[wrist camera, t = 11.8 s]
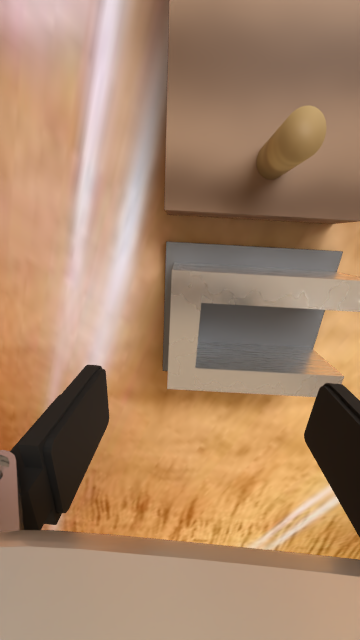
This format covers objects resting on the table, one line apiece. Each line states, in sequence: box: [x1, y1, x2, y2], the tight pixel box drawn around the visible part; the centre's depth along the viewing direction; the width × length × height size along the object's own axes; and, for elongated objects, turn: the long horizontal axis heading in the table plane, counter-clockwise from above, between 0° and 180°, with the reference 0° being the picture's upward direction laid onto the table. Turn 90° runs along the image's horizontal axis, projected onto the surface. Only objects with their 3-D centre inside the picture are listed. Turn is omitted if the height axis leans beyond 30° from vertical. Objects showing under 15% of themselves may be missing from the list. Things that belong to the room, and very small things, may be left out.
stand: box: [164, 0, 360, 224], centre depth 11 cm, size 14×13×6 cm
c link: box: [167, 262, 360, 397], centre depth 17 cm, size 13×9×4 cm
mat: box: [163, 242, 343, 371], centre depth 19 cm, size 12×14×1 cm
